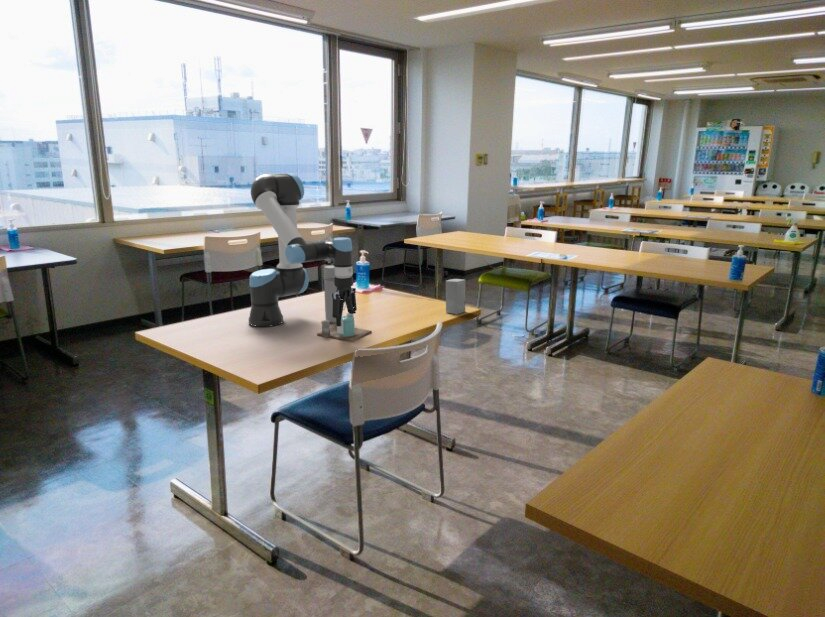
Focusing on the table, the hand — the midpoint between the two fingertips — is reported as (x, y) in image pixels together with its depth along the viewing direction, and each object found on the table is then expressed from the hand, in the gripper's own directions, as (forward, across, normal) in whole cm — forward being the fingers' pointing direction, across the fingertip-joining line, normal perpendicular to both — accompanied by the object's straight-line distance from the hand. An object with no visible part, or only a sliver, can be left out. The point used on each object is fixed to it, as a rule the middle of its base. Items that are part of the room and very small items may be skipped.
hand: (345, 330), depth 230 cm
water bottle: (+2, +16, +17) cm, 24 cm away
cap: (+1, 0, -1) cm, 2 cm away
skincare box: (+2, +56, -25) cm, 61 cm away
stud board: (+2, +2, +2) cm, 4 cm away
